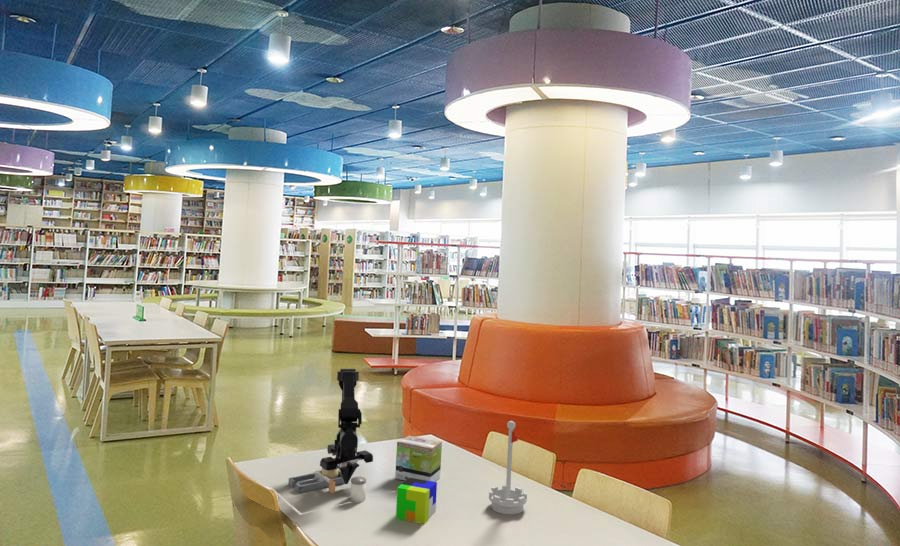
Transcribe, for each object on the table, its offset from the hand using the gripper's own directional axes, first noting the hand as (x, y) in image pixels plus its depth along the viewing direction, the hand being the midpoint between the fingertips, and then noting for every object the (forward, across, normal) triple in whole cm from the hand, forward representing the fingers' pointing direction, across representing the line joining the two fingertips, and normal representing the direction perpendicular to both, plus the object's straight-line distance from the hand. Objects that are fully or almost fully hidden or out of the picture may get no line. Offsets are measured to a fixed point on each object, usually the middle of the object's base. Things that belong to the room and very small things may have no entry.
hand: (346, 483), depth 209 cm
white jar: (+2, 0, +10) cm, 10 cm away
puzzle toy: (+3, -10, +31) cm, 32 cm away
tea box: (+2, -28, +5) cm, 29 cm away
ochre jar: (+2, +2, -9) cm, 10 cm away
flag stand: (+2, -39, +43) cm, 58 cm away
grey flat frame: (+2, +6, -9) cm, 12 cm away
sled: (+2, +10, -6) cm, 12 cm away
